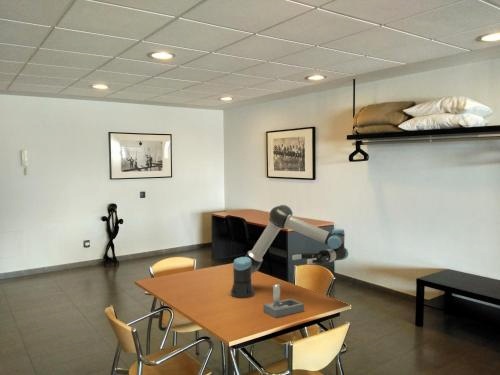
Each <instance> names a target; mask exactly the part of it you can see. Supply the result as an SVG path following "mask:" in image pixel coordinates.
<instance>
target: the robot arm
mask: <svg viewBox="0 0 500 375" xmlns="http://www.w3.org/2000/svg"><path fill="white" fill-rule="evenodd" d="M286 228H288V229H290V230H292V231H294V232H297V233H299V234H301V235H304V236H306V237H309V238H310V239H313V240H316V241H318V242H319V243H320V242H321V243H322V244H324V245H327V246H328V247H329V249H328V248H327V249H322V250H319V251H318V252H316V253H315V252H305V253H304V252H302V253H301V252H299V253H298V254H294V255H292V259H291V260H292V261H296V260H302V259H307V260H306V265H312V264H313V265H314V264H320V265H321V264H324V263H332V262H335V261H341V260H346V259H347V258H348V256H349V251H348V248H346V247H345V236H346V234H345V230H344V229H343V228H334V229H332V231H331V232H330V231H328V230H325V229H323V228H321V227H318V226H316V225H314V224H311V223H308V222H306V221H303V220H301V219H300V218H297V217H295V216H293V211H292V208H291V207H290V206H288V205H287V204H286V205H285V204H280V205H278V206H277V205H276V206H274V207H273V208H271V210H270V212H269V218H268V224H267V226H266V227H265V228H264V230H263V232H262V233H261V235H260V237H259V238H258V240H257V241H256V243H255V245H254V246H253V248H252V249H251V250H248V251H247V253H246V255H245V256H240V257H237V258H235V259H234V260H233V263H232V264H233V265H232V267H233V272H232V273H233V284H232V286H231V287H232V288H231V290H230V296H232V297H234V298H238V299H239V298H240V299H244V298H245V299H247V298H251V297H253V296H254V295H255V290H254V287H253V284H252V274H254V273H256V272H257V271H259V269H260V267H261V264H262V263H263V261H264V259H263V257H264V255H265V254H266V252H267V251H268V249H269V248H270V246H271V245H272V243H273V241H274V240H275V238H276V237H277V236H278V234H279V232H280V231H281V230H284V229H286Z"/></svg>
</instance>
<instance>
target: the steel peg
mask: <svg viewBox="0 0 500 375" xmlns="http://www.w3.org/2000/svg"><path fill="white" fill-rule="evenodd" d="M280 301H281V284H280V283H274V284H272V303H273V305H275V307H278V305H280Z"/></svg>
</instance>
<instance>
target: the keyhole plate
mask: <svg viewBox="0 0 500 375" xmlns="http://www.w3.org/2000/svg"><path fill="white" fill-rule="evenodd" d="M262 309H263V310H262V311H263V312H264V313H266V314H267V315H270V316H272V317H273V318H277V319H278V318H280V317H285V316H289V315H293V314H298V313H301V312H305V303H302V302H301V301H298V300H296V299H294V298H287V299H282V300H280V305H278V307H275V305H273V302H268V303H263V308H262Z"/></svg>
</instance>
